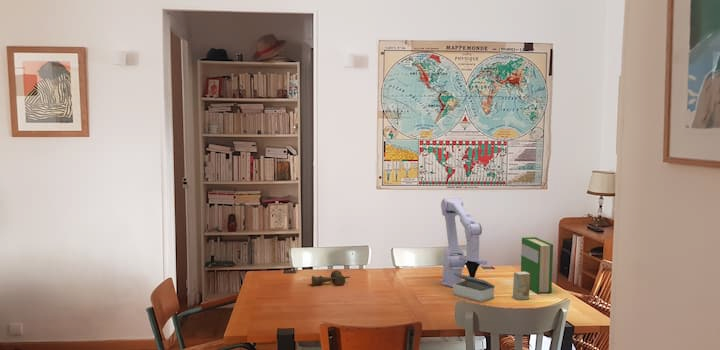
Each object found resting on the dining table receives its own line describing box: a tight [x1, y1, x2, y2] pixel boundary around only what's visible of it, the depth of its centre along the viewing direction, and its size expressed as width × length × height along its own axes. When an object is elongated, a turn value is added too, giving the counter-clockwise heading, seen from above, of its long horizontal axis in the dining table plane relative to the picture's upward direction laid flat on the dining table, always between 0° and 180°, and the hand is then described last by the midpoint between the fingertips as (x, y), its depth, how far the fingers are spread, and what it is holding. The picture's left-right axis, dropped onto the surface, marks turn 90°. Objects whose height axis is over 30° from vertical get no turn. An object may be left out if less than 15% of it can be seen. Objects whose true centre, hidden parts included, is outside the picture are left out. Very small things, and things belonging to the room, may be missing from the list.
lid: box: [454, 273, 496, 288], centre depth 255 cm, size 17×10×1 cm, turn 43°
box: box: [452, 280, 495, 303], centre depth 255 cm, size 16×10×5 cm, turn 43°
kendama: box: [311, 269, 351, 287], centre depth 275 cm, size 6×10×20 cm
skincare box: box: [512, 271, 530, 301], centre depth 252 cm, size 6×4×12 cm
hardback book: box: [520, 236, 554, 295], centre depth 267 cm, size 18×7×24 cm, turn 9°
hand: (472, 277), depth 254 cm, fingers closed, pressing on lid
